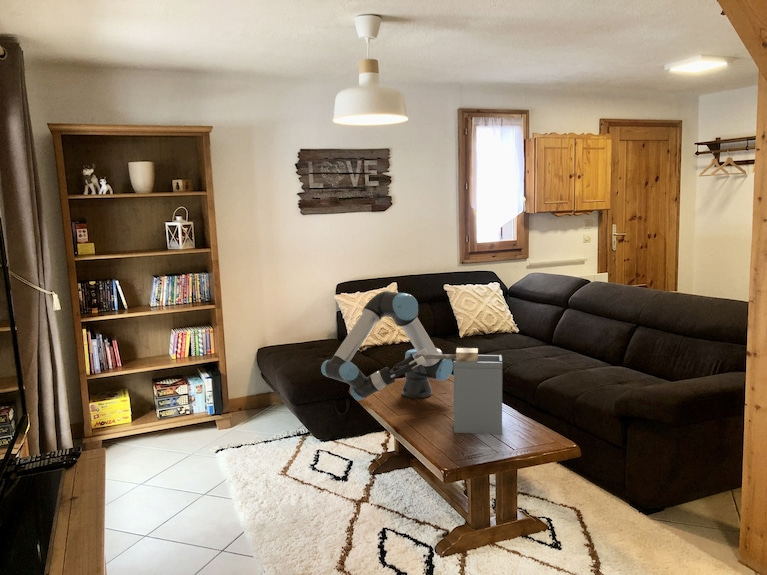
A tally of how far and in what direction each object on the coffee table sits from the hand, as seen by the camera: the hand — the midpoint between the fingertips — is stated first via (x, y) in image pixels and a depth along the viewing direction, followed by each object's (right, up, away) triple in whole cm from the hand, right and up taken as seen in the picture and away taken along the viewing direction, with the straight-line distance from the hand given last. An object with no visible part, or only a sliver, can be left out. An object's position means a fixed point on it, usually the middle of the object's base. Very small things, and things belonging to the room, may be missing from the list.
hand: (425, 354), depth 265 cm
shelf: (+23, -31, +1) cm, 39 cm away
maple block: (+9, -4, -1) cm, 10 cm away
